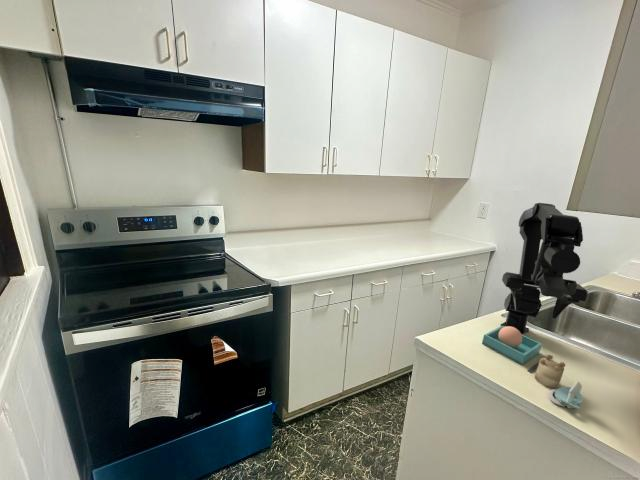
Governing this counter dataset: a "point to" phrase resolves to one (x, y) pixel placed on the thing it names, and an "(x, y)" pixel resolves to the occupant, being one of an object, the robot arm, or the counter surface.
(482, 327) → the counter surface
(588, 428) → the counter surface
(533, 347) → the tray
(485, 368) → the counter surface
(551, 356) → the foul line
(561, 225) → the robot arm
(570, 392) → the pacifier
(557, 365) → the knobbed tan cylinder
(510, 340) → the ball
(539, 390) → the counter surface
